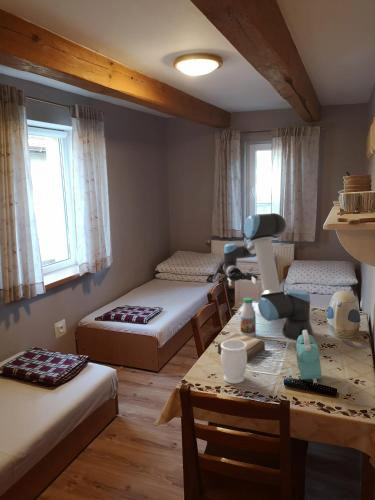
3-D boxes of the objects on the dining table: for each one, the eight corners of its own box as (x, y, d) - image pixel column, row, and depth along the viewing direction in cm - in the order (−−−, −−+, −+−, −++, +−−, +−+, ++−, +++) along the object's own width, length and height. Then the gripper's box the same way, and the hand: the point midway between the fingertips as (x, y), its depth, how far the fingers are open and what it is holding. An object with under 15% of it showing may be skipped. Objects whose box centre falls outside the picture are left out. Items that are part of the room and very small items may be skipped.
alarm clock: (323, 390, 150) (324, 340, 146) (297, 388, 152) (298, 339, 148) (317, 368, 167) (319, 324, 163) (294, 367, 168) (295, 323, 165)
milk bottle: (239, 332, 208) (239, 296, 204) (254, 332, 207) (254, 296, 204) (241, 338, 200) (241, 301, 196) (256, 338, 200) (256, 300, 196)
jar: (229, 387, 154) (228, 352, 151) (216, 376, 163) (216, 342, 160) (252, 381, 158) (251, 346, 155) (238, 370, 167) (238, 337, 164)
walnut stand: (264, 349, 187) (264, 339, 186) (247, 362, 174) (247, 351, 174) (236, 341, 197) (236, 332, 196) (218, 353, 184) (217, 343, 184)
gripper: (254, 278, 231) (265, 288, 210) (213, 280, 228) (220, 290, 208) (254, 265, 230) (266, 274, 209) (212, 268, 227) (220, 277, 206)
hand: (243, 282), depth 208 cm, fingers open, 13 cm apart
